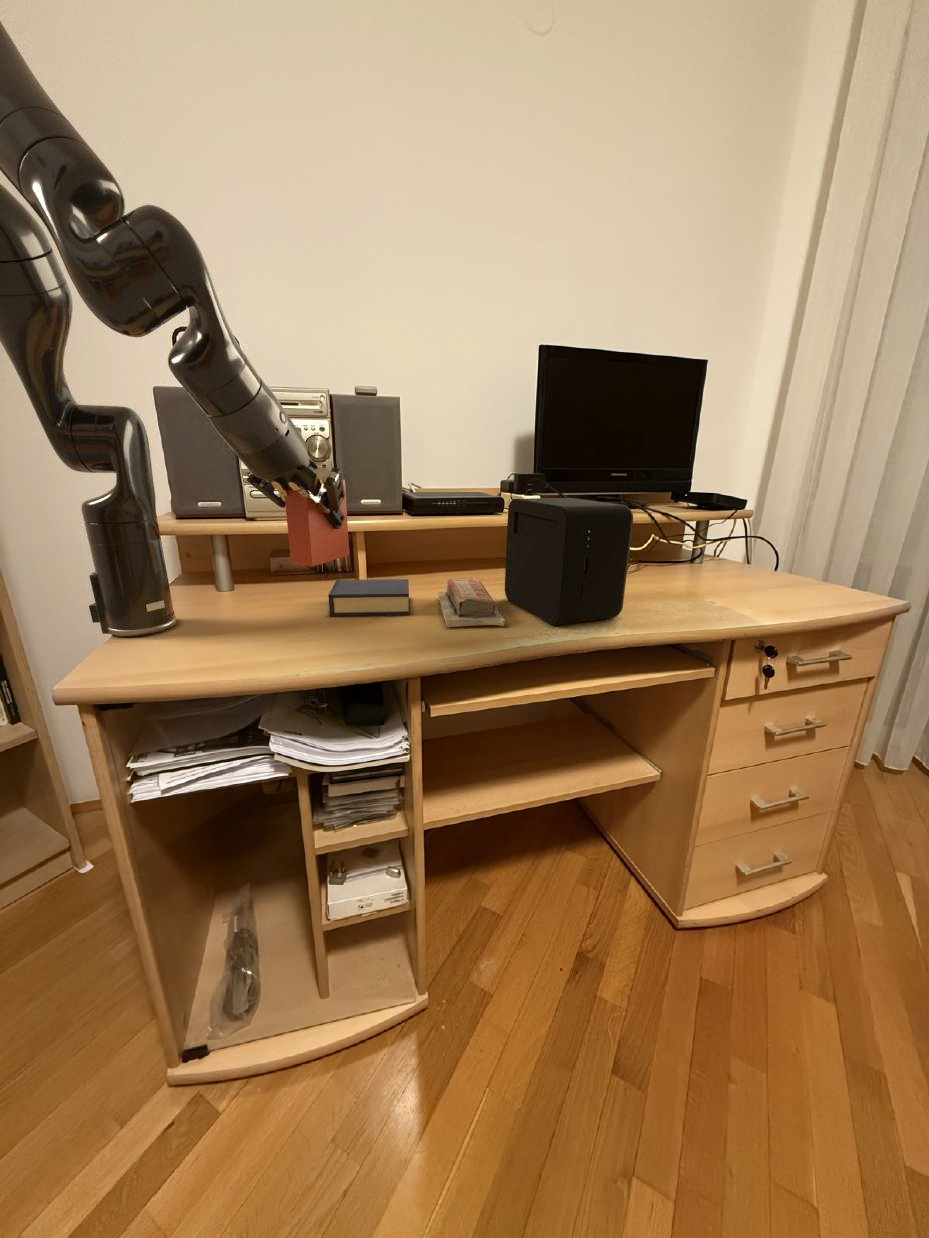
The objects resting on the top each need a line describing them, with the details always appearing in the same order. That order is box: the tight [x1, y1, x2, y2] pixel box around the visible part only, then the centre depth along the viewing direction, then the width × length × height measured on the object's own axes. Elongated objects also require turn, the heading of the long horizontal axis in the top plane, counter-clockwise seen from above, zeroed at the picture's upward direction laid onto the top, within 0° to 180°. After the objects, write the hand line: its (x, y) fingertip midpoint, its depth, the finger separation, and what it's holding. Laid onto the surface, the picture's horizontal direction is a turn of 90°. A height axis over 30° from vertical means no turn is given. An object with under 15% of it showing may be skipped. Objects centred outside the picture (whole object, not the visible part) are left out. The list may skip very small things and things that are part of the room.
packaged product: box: [437, 577, 506, 628], centre depth 90 cm, size 18×5×10 cm
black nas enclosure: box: [504, 497, 634, 626], centre depth 90 cm, size 20×15×20 cm
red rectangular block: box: [285, 479, 350, 567], centre depth 69 cm, size 9×4×11 cm, turn 160°
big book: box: [327, 578, 410, 617], centre depth 92 cm, size 14×11×4 cm
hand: (327, 523), depth 70 cm, fingers closed on red rectangular block, 3 cm apart
